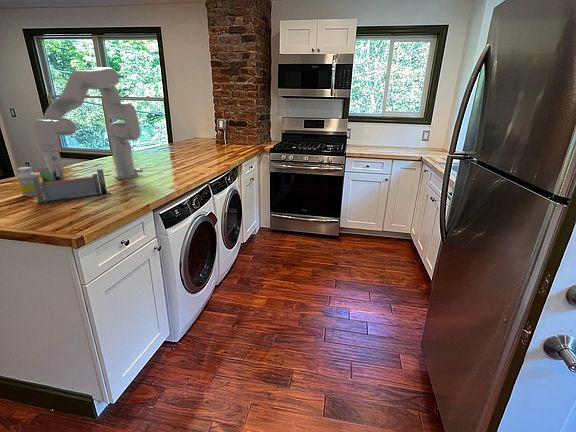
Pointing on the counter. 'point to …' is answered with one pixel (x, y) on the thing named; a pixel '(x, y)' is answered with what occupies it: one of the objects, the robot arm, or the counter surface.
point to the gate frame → (42, 201)
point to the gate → (70, 187)
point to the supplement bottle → (26, 181)
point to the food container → (47, 174)
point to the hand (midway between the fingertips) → (59, 187)
